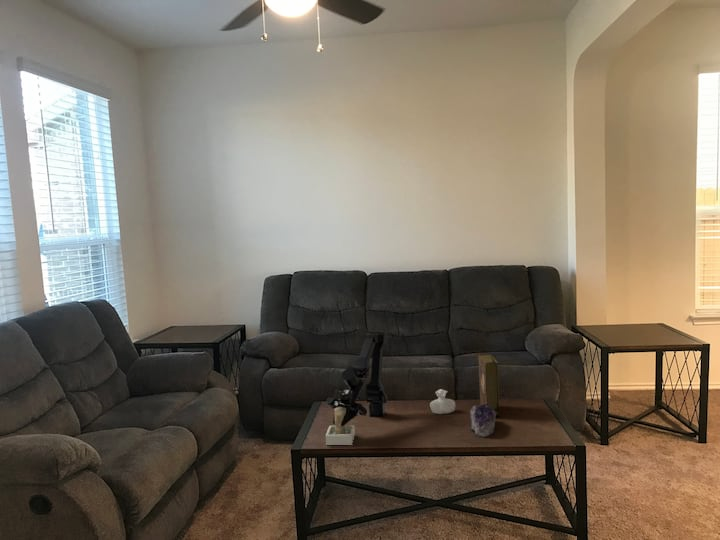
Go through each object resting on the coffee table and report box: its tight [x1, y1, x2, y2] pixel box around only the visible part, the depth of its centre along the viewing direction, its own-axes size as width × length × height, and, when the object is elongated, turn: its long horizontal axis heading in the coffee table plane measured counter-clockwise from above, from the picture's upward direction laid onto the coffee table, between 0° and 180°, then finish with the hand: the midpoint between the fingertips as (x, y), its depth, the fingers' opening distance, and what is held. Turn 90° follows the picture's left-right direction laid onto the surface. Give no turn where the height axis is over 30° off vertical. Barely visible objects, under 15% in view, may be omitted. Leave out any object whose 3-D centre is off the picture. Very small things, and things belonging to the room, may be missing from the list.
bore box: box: [325, 424, 356, 446], centre depth 223 cm, size 11×11×4 cm
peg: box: [333, 407, 346, 435], centre depth 222 cm, size 4×4×13 cm
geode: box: [469, 404, 497, 439], centre depth 227 cm, size 20×12×10 cm, turn 169°
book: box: [477, 353, 501, 417], centre depth 247 cm, size 16×6×25 cm, turn 179°
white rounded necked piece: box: [429, 388, 456, 415], centre depth 251 cm, size 12×8×11 cm
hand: (337, 425), depth 221 cm, fingers closed on peg, 4 cm apart
